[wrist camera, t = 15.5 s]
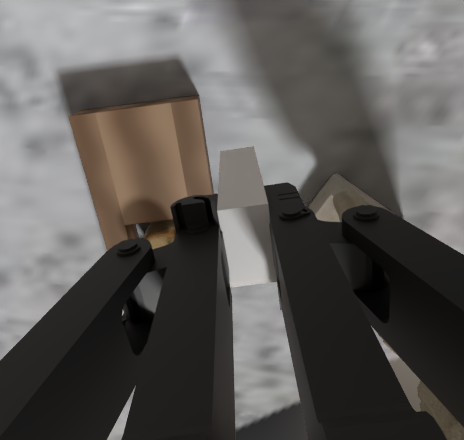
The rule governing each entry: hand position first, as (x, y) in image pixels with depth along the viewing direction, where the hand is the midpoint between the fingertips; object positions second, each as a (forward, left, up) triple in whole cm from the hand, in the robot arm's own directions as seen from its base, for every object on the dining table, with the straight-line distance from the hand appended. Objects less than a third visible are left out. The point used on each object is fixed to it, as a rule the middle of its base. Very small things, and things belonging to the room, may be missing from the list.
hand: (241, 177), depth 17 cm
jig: (+8, +9, -24) cm, 27 cm away
